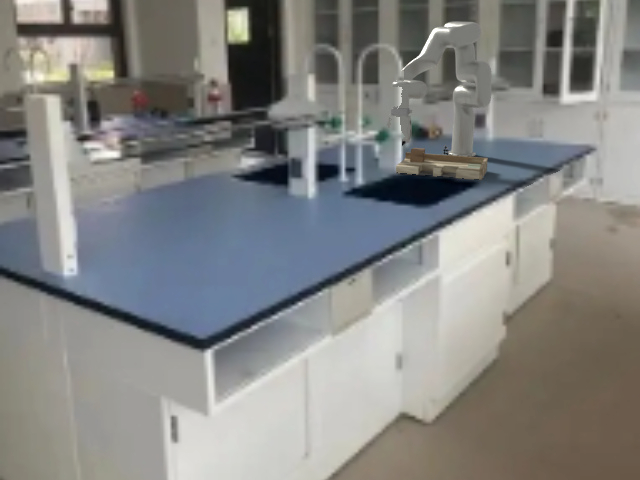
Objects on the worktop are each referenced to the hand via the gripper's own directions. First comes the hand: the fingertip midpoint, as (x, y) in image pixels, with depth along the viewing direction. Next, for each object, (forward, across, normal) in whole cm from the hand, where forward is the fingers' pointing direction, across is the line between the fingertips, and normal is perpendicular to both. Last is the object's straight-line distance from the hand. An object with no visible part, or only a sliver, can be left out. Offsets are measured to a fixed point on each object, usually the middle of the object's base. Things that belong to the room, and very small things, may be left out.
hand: (397, 156), depth 294 cm
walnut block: (+2, -9, 0) cm, 9 cm away
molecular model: (+5, -24, -15) cm, 29 cm away
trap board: (+4, -20, +4) cm, 20 cm away
